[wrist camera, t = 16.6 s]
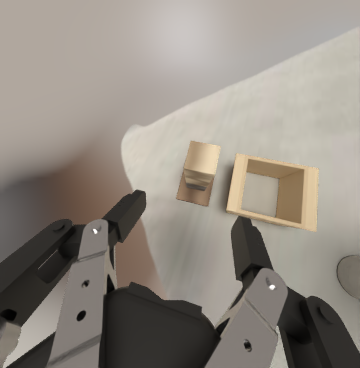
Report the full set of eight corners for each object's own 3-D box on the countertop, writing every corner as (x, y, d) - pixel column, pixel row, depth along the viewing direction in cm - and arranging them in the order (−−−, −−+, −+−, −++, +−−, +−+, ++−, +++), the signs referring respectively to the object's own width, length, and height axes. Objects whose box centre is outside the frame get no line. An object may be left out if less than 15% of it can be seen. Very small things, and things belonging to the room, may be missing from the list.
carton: (290, 178, 36) (318, 168, 28) (286, 227, 33) (316, 231, 25) (227, 165, 38) (236, 153, 30) (218, 210, 35) (226, 209, 27)
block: (207, 174, 36) (220, 146, 21) (204, 191, 35) (214, 174, 20) (190, 170, 37) (190, 140, 21) (186, 187, 36) (183, 168, 20)
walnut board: (216, 164, 38) (217, 162, 37) (207, 206, 36) (208, 206, 34) (187, 158, 39) (187, 156, 38) (176, 198, 37) (176, 198, 35)
